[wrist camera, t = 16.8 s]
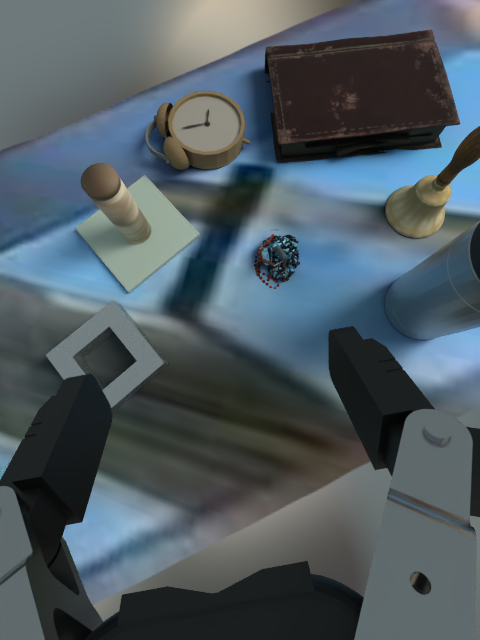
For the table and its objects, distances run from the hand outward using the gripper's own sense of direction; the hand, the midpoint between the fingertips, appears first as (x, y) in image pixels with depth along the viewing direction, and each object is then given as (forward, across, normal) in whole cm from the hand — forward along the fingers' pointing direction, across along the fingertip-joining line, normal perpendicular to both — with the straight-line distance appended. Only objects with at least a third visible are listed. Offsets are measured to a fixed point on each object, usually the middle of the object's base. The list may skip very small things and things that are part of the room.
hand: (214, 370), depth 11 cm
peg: (+39, +11, +5) cm, 41 cm away
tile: (+39, +11, +6) cm, 41 cm away
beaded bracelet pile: (+34, -8, +12) cm, 37 cm away
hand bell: (+36, -29, +9) cm, 47 cm away
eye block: (+27, +17, +18) cm, 37 cm away
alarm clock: (+49, 0, -3) cm, 49 cm away
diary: (+50, -24, -4) cm, 56 cm away
